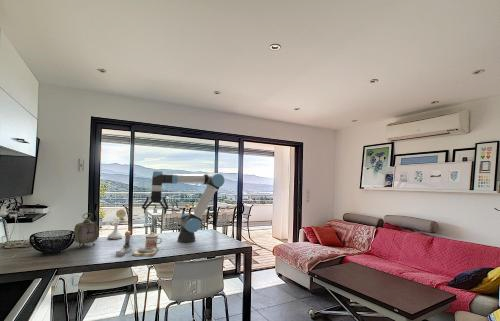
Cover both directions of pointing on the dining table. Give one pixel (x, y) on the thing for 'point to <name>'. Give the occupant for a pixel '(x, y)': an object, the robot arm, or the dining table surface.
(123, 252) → the lever track
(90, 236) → the tabletop clock
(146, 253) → the press bed
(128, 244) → the lever handle
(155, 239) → the teacup with lid
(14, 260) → the dining table surface
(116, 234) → the flower in vase
